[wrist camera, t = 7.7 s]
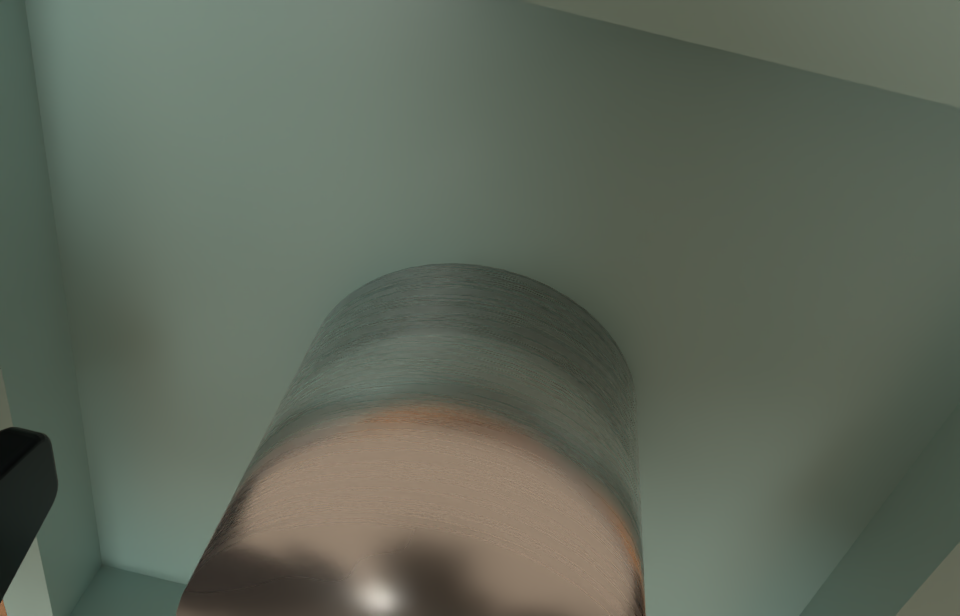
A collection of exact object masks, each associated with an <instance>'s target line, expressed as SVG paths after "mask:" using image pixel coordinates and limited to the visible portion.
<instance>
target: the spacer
mask: <svg viewBox="0 0 960 616" xmlns="http://www.w3.org/2000/svg"><path fill="white" fill-rule="evenodd" d="M176 616H646V611H645V587H644V564H643V541H642V517H641V494H640V470H639V447H638V424H637V400H636V391H635V386H634V381H633V377H632V374H631V372H630V369H629V367H628V364H627V361H626V359H625V357H624V356H623V354H622V352H621V350H620V349H619V347H618V345H617V344H616V342H615V341H614V340H613V338H612V337H611V336H610V334H609V333H608V332H607V331H606V329H605V328H604V327H603V326H602V325H601V324H600V323H599V322H598V321H597V320H596V319H595V318H594V317H593V316H592V315H591V314H590V313H589V312H588V311H586V310H585V309H584V308H582V307H581V306H580V305H578V304H577V303H576V302H574V301H573V300H572V299H570V298H569V297H567V296H565V295H564V294H562V293H560V292H558V291H557V290H555V289H553V288H551V287H550V286H548V285H545V284H543V283H541V282H538V281H536V280H534V279H531V278H529V277H527V276H524V275H520V274H517V273H514V272H510V271H507V270H504V269H499V268H493V267H488V266H482V265H475V264H460V263H444V264H428V265H422V266H416V267H410V268H405V269H402V270H399V271H395V272H392V273H389V274H386V275H383V276H381V277H379V278H377V279H374V280H372V281H370V282H368V283H366V284H364V285H363V286H361V287H360V288H358V289H356V290H355V291H353V292H352V293H350V294H349V295H348V296H347V297H346V298H344V299H343V300H342V301H341V302H340V303H339V304H337V305H336V306H335V308H334V309H333V310H332V311H331V312H330V314H329V315H328V316H327V317H326V318H325V320H324V321H323V323H322V325H321V326H320V328H319V330H318V332H317V333H316V335H315V337H314V339H313V341H312V343H311V345H310V347H309V349H308V351H307V353H306V355H305V357H304V358H303V360H302V362H301V364H300V366H299V368H298V370H297V372H296V374H295V376H294V378H293V380H292V382H291V384H290V386H289V388H288V390H287V392H286V393H285V395H284V397H283V399H282V401H281V403H280V405H279V407H278V409H277V411H276V413H275V415H274V417H273V419H272V421H271V423H270V425H269V427H268V428H267V430H266V432H265V434H264V436H263V438H262V440H261V442H260V444H259V446H258V448H257V450H256V452H255V454H254V456H253V458H252V460H251V461H250V463H249V465H248V467H247V469H246V471H245V473H244V475H243V477H242V479H241V481H240V483H239V485H238V487H237V489H236V491H235V493H234V495H233V496H232V498H231V500H230V502H229V504H228V506H227V508H226V510H225V512H224V514H223V516H222V518H221V520H220V522H219V524H218V526H217V528H216V530H215V531H214V533H213V535H212V537H211V539H210V541H209V543H208V545H207V547H206V549H205V551H204V553H203V555H202V557H201V559H200V561H199V563H198V565H197V566H196V568H195V570H194V572H193V574H192V576H191V578H190V580H189V582H188V584H187V586H186V588H185V590H184V592H183V594H182V596H181V599H180V602H179V605H178V609H177V612H176Z"/></svg>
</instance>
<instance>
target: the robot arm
mask: <svg viewBox="0 0 960 616" xmlns="http://www.w3.org/2000/svg"><path fill="white" fill-rule="evenodd" d="M57 491H58V477H57V471H56V465H55V459H54V453H53V448H52V443H51V440H50V438H49V437H48V436H47V435H46V434H44V433H40V432H36V431H32V430H28V429H24V428H20V427H9V428H5V429H3V430H0V603H1V601H2V599H3V597H4V595H5V594H6V592H7V590H8V588H9V586H10V584H11V582H12V580H13V579H14V577H15V575H16V573H17V571H18V569H19V567H20V565H21V564H22V562H23V560H24V558H25V556H26V554H27V552H28V550H29V549H30V547H31V545H32V543H33V541H34V539H35V537H36V535H37V534H38V532H39V530H40V528H41V526H42V524H43V522H44V520H45V519H46V517H47V515H48V513H49V511H50V509H51V507H52V505H53V503H54V501H55V498H56V495H57Z"/></svg>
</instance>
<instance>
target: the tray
mask: <svg viewBox="0 0 960 616" xmlns="http://www.w3.org/2000/svg"><path fill="white" fill-rule="evenodd" d="M444 263H460V264H475V265H482V266H488V267H493V268H499V269H504V270H507V271H510V272H514V273H517V274H520V275H524V276H527V277H529V278H531V279H534V280H536V281H538V282H541V283H543V284H545V285H548V286H550V287H551V288H553V289H555V290H557V291H558V292H560V293H562V294H564V295H565V296H567V297H569V298H570V299H572V300H573V301H574V302H576V303H577V304H578V305H580V306H581V307H582V308H584V309H585V310H586V311H588V312H589V313H590V314H591V315H592V316H593V317H594V318H595V319H596V320H597V321H598V322H599V323H600V324H601V325H602V326H603V327H604V328H605V329H606V331H607V332H608V333H609V334H610V336H611V337H612V338H613V340H614V341H615V342H616V344H617V345H618V347H619V349H620V350H621V352H622V354H623V356H624V357H625V359H626V361H627V364H628V367H629V369H630V372H631V374H632V377H633V381H634V386H635V391H636V400H637V424H638V447H639V470H640V494H641V517H642V541H643V564H644V587H645V611H646V616H960V0H0V430H3V429H5V428H9V427H20V428H24V429H28V430H32V431H36V432H40V433H44V434H46V435H47V436H48V437H49V438H50V440H51V443H52V448H53V453H54V459H55V465H56V471H57V477H58V491H57V495H56V498H55V501H54V503H53V505H52V507H51V509H50V511H49V513H48V515H47V517H46V519H45V520H44V522H43V524H42V526H41V528H40V530H39V532H38V534H37V535H36V537H35V539H34V541H33V543H32V545H31V547H30V549H29V550H28V552H27V554H26V556H25V558H24V560H23V562H22V564H21V565H20V567H19V569H18V571H17V573H16V575H15V577H14V579H13V580H12V582H11V584H10V586H9V588H8V590H7V592H6V594H5V595H4V597H3V601H4V605H5V609H6V613H7V616H176V612H177V609H178V605H179V602H180V599H181V596H182V594H183V592H184V590H185V588H186V586H187V584H188V582H189V580H190V578H191V576H192V574H193V572H194V570H195V568H196V566H197V565H198V563H199V561H200V559H201V557H202V555H203V553H204V551H205V549H206V547H207V545H208V543H209V541H210V539H211V537H212V535H213V533H214V531H215V530H216V528H217V526H218V524H219V522H220V520H221V518H222V516H223V514H224V512H225V510H226V508H227V506H228V504H229V502H230V500H231V498H232V496H233V495H234V493H235V491H236V489H237V487H238V485H239V483H240V481H241V479H242V477H243V475H244V473H245V471H246V469H247V467H248V465H249V463H250V461H251V460H252V458H253V456H254V454H255V452H256V450H257V448H258V446H259V444H260V442H261V440H262V438H263V436H264V434H265V432H266V430H267V428H268V427H269V425H270V423H271V421H272V419H273V417H274V415H275V413H276V411H277V409H278V407H279V405H280V403H281V401H282V399H283V397H284V395H285V393H286V392H287V390H288V388H289V386H290V384H291V382H292V380H293V378H294V376H295V374H296V372H297V370H298V368H299V366H300V364H301V362H302V360H303V358H304V357H305V355H306V353H307V351H308V349H309V347H310V345H311V343H312V341H313V339H314V337H315V335H316V333H317V332H318V330H319V328H320V326H321V325H322V323H323V321H324V320H325V318H326V317H327V316H328V315H329V314H330V312H331V311H332V310H333V309H334V308H335V306H336V305H337V304H339V303H340V302H341V301H342V300H343V299H344V298H346V297H347V296H348V295H349V294H350V293H352V292H353V291H355V290H356V289H358V288H360V287H361V286H363V285H364V284H366V283H368V282H370V281H372V280H374V279H377V278H379V277H381V276H383V275H386V274H389V273H392V272H395V271H399V270H402V269H405V268H410V267H416V266H422V265H428V264H444Z"/></svg>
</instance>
